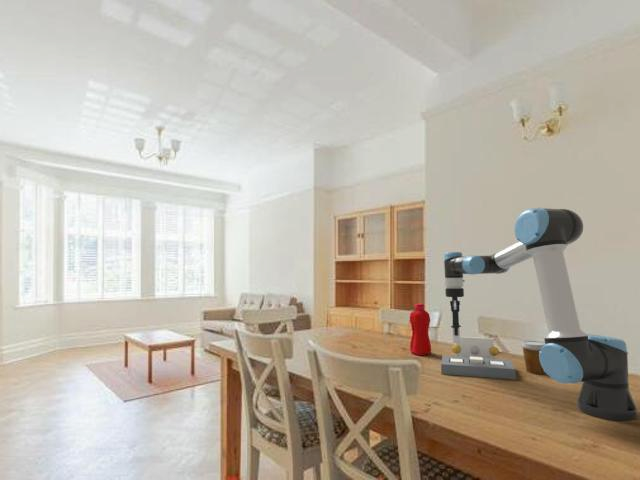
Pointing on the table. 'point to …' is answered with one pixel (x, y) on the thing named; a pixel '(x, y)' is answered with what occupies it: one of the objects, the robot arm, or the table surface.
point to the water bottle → (420, 331)
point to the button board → (478, 368)
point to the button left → (456, 360)
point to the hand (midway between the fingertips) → (456, 342)
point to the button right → (496, 363)
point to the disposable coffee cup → (532, 356)
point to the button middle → (476, 360)
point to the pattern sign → (475, 347)
